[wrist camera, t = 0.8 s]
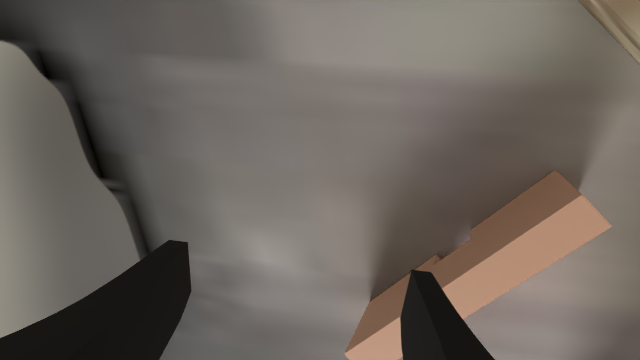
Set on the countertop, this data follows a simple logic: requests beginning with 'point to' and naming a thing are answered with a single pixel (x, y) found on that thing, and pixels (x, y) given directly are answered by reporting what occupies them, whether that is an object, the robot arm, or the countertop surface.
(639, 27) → the birch slotted plate
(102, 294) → the robot arm
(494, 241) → the terracotta slotted plate
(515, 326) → the countertop surface
